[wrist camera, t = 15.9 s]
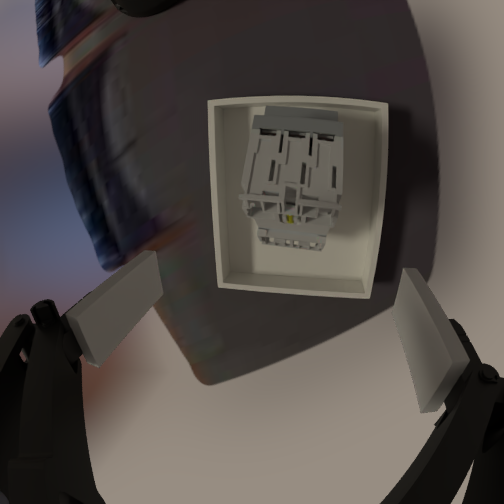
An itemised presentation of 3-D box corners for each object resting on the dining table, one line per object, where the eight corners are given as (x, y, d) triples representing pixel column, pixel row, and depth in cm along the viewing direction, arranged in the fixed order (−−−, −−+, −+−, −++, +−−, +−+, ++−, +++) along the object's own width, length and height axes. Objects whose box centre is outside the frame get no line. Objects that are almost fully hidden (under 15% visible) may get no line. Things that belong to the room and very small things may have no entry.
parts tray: (219, 104, 33) (207, 100, 29) (379, 107, 29) (387, 103, 25) (227, 273, 43) (218, 287, 39) (364, 283, 39) (369, 298, 35)
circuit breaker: (328, 152, 35) (341, 75, 21) (321, 251, 33) (341, 211, 18) (276, 146, 37) (263, 70, 22) (261, 244, 34) (237, 200, 20)
